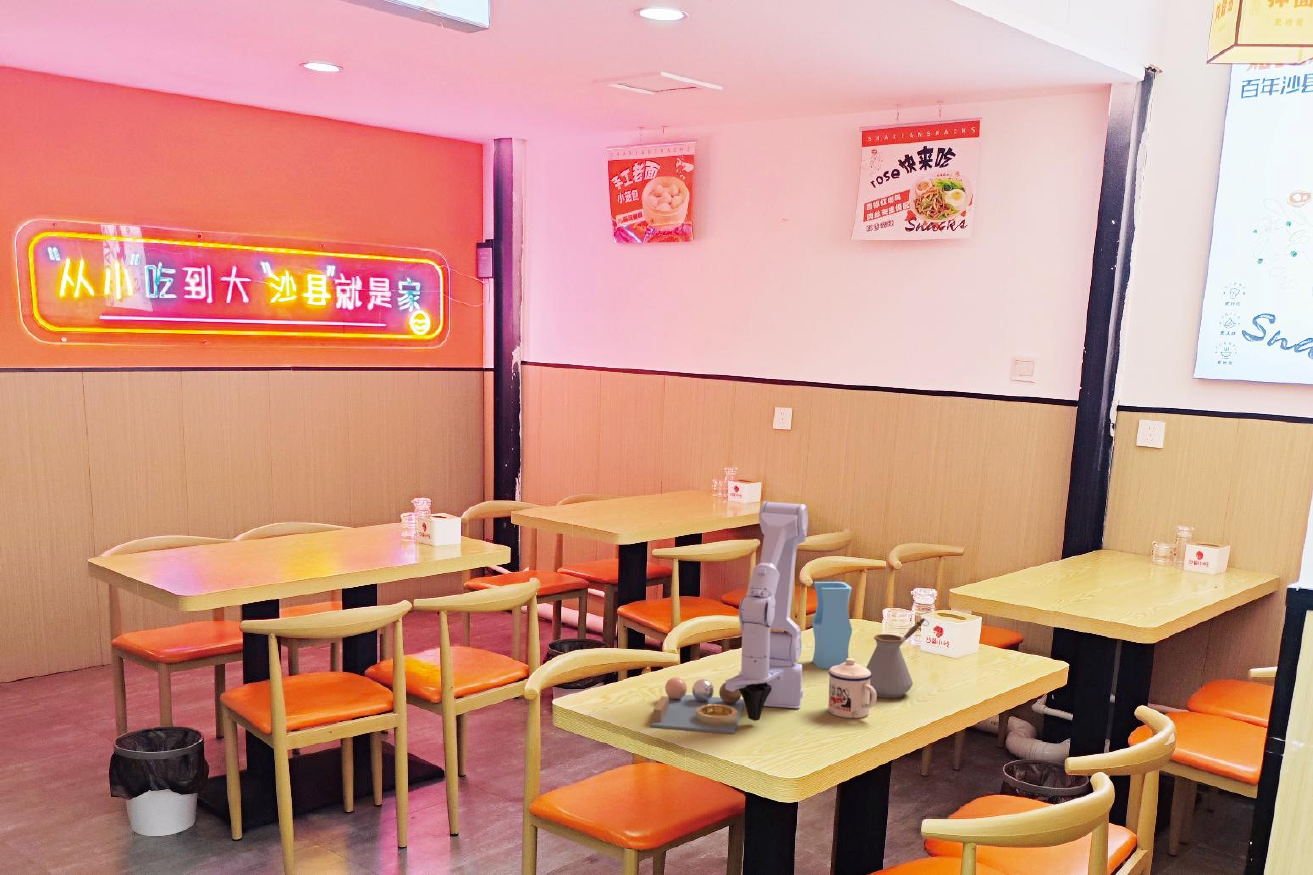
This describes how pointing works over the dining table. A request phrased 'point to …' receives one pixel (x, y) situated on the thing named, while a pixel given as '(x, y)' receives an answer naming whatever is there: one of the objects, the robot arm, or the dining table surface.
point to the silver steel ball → (703, 690)
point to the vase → (831, 624)
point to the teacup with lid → (850, 690)
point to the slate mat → (690, 714)
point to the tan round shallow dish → (716, 715)
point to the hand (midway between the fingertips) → (753, 718)
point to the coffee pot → (890, 665)
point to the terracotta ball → (675, 688)
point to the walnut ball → (729, 695)
